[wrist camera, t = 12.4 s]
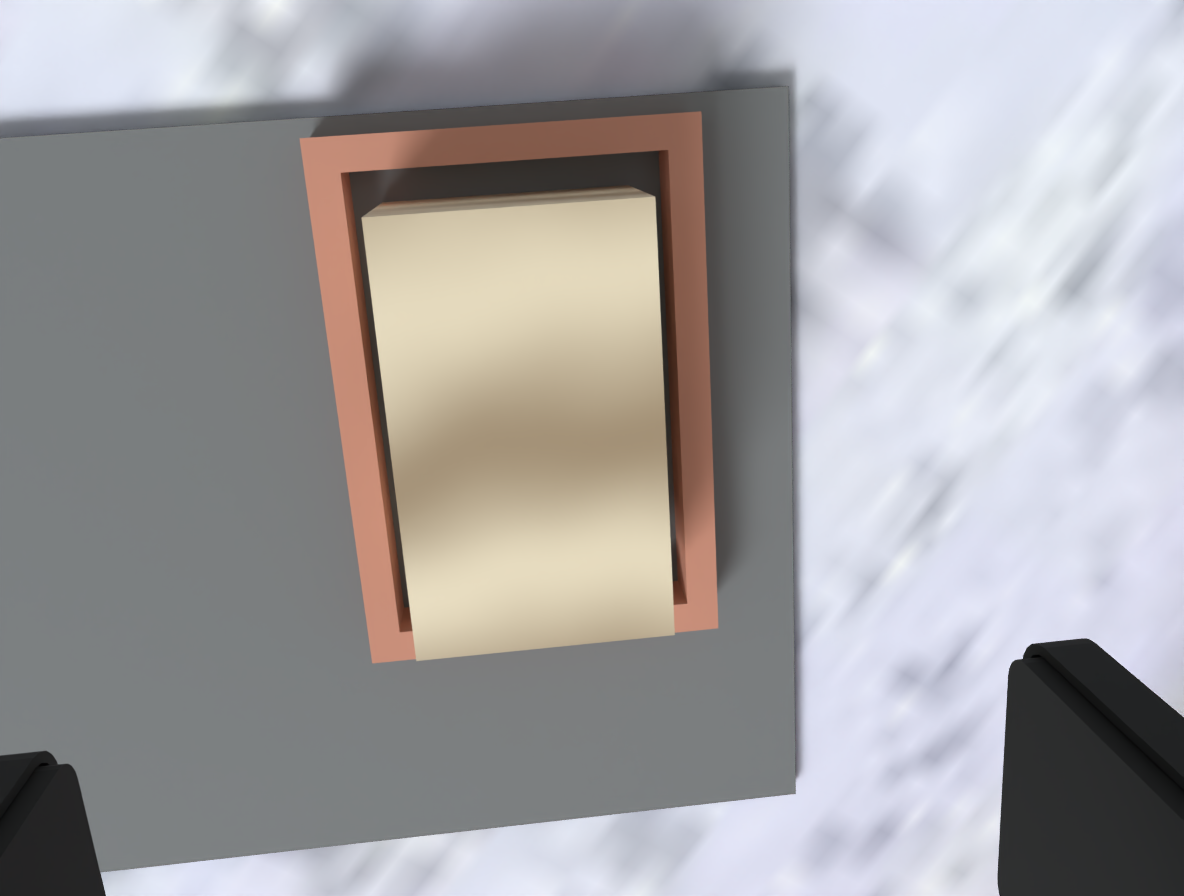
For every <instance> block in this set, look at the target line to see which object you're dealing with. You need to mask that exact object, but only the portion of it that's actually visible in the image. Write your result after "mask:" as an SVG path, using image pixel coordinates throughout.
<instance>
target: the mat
mask: <svg viewBox="0 0 1184 896" xmlns="http://www.w3.org/2000/svg"><path fill="white" fill-rule="evenodd" d="M623 185H629V186H631V187H634V188H636V189H638V190H641V191H643V192H646V193H648V194H650V195H653V196H655V200H656V223H657V245H658V268H659V290H660V313H661V335H662V358H663V380H664V403H665V425H666V448H667V470H668V493H669V515H670V538H671V560H672V583H673V605H674V628H675V635H670V636H660V637H650V638H641V639H631V640H621V641H611V642H601V643H591V644H581V645H571V646H561V647H551V648H541V649H531V650H521V651H511V652H501V653H491V654H481V655H471V656H461V657H451V658H441V659H431V660H422V661H416V655H415V647H414V639H413V630H412V622H411V614H410V606H409V598H408V590H407V582H406V574H405V566H404V558H403V549H402V541H401V533H400V525H399V517H398V509H397V501H396V493H395V485H394V477H393V468H392V460H391V452H390V444H389V436H388V428H387V420H386V412H385V404H384V396H383V387H382V379H381V371H380V363H379V355H378V347H377V339H376V331H375V323H374V315H373V306H372V298H371V290H370V282H369V274H368V266H367V258H366V250H365V242H364V234H363V225H362V217H363V216H364V215H366V214H367V213H368V212H370V211H371V210H373V209H374V208H375V207H377V206H378V205H379V204H381V203H382V202H395V201H409V200H424V199H438V198H452V197H466V196H481V195H495V194H509V193H523V192H537V191H552V190H566V189H580V188H594V187H609V186H623ZM37 751H48V752H50V753H51V754H52V755H53V756H54V758H55V759H56V761H57V763H58V764H67V763H68V764H70V765H71V766H72V767H73V768H74V770H75V771H76V774H77V777H78V781H79V785H80V789H81V793H82V798H83V802H84V806H85V810H86V815H87V819H88V823H89V827H90V831H91V836H92V840H93V844H94V848H95V852H96V857H97V861H98V865H99V869H100V872H108V871H117V870H126V869H135V868H144V867H153V866H161V865H170V864H179V863H188V862H197V861H206V860H214V859H223V858H232V857H241V856H250V855H259V854H267V853H276V852H285V851H294V850H303V849H312V848H320V847H329V846H338V845H347V844H356V843H365V842H373V841H382V840H391V839H400V838H409V837H418V836H426V835H435V834H444V833H453V832H462V831H471V830H479V829H488V828H497V827H506V826H515V825H524V824H532V823H541V822H550V821H559V820H568V819H577V818H585V817H594V816H603V815H612V814H621V813H630V812H639V811H647V810H656V809H665V808H674V807H683V806H692V805H700V804H709V803H718V802H727V801H736V800H745V799H753V798H762V797H771V796H780V795H789V794H796V784H795V685H794V585H793V485H792V385H791V286H790V186H789V86H782V87H767V88H752V89H737V90H722V91H707V92H691V93H676V94H661V95H646V96H631V97H615V98H600V99H585V100H570V101H555V102H540V103H524V104H509V105H494V106H479V107H464V108H449V109H433V110H418V111H403V112H388V113H373V114H358V115H342V116H327V117H312V118H297V119H282V120H267V121H251V122H236V123H221V124H206V125H191V126H176V127H160V128H145V129H130V130H115V131H100V132H85V133H69V134H54V135H39V136H24V137H9V138H0V755H10V754H19V753H28V752H37Z"/></svg>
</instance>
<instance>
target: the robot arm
mask: <svg viewBox="0 0 1184 896" xmlns="http://www.w3.org/2000/svg"><path fill="white" fill-rule="evenodd" d="M998 889H999V895H1000V896H1184V717H1182V716H1181V715H1180V714H1179V713H1178V712H1177V711H1175V710H1174V709H1173V708H1172V707H1171V706H1169V705H1168V704H1167V703H1166V702H1165V701H1163V700H1162V699H1161V698H1160V697H1159V696H1158V695H1156V694H1155V693H1154V692H1153V691H1152V690H1150V689H1149V688H1148V687H1147V686H1146V685H1144V684H1143V683H1142V682H1141V681H1140V680H1139V679H1137V678H1136V677H1135V676H1134V675H1133V674H1131V673H1130V672H1129V671H1128V670H1127V669H1125V668H1124V667H1123V666H1122V665H1121V664H1120V663H1118V662H1117V661H1116V660H1115V659H1114V658H1112V657H1111V656H1110V655H1109V654H1108V653H1106V652H1105V651H1104V650H1103V649H1102V648H1101V647H1099V646H1098V645H1097V644H1096V643H1095V642H1093V641H1091V640H1089V639H1073V640H1064V641H1055V642H1046V643H1036V644H1031V645H1030V646H1029V647H1027V649H1026V651H1025V653H1024V655H1023V659H1020V660H1015V661H1014V662H1012V664H1011V666H1010V668H1009V674H1008V690H1007V709H1006V727H1005V746H1004V765H1003V784H1002V803H1001V821H1000V840H999V859H998ZM0 896H106V895H105V890H104V886H103V882H102V878H101V874H100V869H99V865H98V861H97V857H96V852H95V848H94V844H93V840H92V836H91V831H90V827H89V823H88V819H87V815H86V810H85V806H84V802H83V798H82V793H81V789H80V785H79V781H78V777H77V774H76V771H75V770H74V768H73V767H72V766H71V765H70V764H68V763H67V764H58V763H57V761H56V759H55V758H54V756H53V755H52V754H51V753H50V752H48V751H37V752H28V753H19V754H10V755H0Z"/></svg>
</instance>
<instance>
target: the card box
mask: <svg viewBox="0 0 1184 896" xmlns="http://www.w3.org/2000/svg"><path fill="white" fill-rule="evenodd" d="M362 225H363V234H364V242H365V250H366V258H367V266H368V274H369V282H370V290H371V298H372V306H373V315H374V323H375V331H376V339H377V347H378V355H379V363H380V371H381V379H382V387H383V396H384V404H385V412H386V420H387V428H388V436H389V444H390V452H391V460H392V468H393V477H394V485H395V493H396V501H397V509H398V517H399V525H400V533H401V541H402V549H403V558H404V566H405V574H406V582H407V590H408V598H409V606H410V614H411V622H412V630H413V639H414V647H415V655H416V661H422V660H431V659H441V658H451V657H461V656H471V655H481V654H491V653H501V652H511V651H521V650H531V649H541V648H551V647H561V646H571V645H581V644H591V643H601V642H611V641H621V640H631V639H641V638H650V637H660V636H670V635H675V628H674V605H673V583H672V560H671V538H670V515H669V493H668V470H667V448H666V425H665V403H664V380H663V358H662V335H661V313H660V290H659V268H658V245H657V223H656V200H655V196H653V195H650V194H648V193H646V192H643V191H641V190H638V189H636V188H634V187H631V186H629V185H623V186H609V187H594V188H580V189H566V190H552V191H537V192H523V193H509V194H495V195H481V196H466V197H452V198H438V199H424V200H409V201H395V202H382V203H381V204H379V205H378V206H377V207H375V208H374V209H373V210H371V211H370V212H368V213H367V214H366V215H364V216H363V217H362Z"/></svg>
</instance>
